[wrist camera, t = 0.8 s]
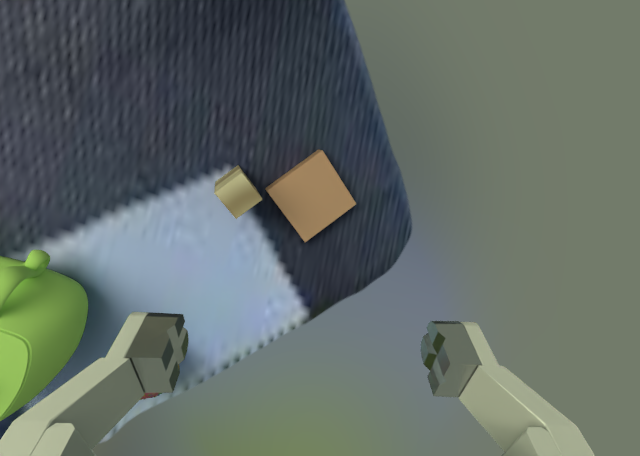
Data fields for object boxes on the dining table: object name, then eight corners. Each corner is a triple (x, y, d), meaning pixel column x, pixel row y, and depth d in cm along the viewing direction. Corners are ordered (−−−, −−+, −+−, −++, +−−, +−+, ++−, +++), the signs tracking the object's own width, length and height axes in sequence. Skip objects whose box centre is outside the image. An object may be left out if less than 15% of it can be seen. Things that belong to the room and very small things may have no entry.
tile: (264, 188, 50) (266, 191, 48) (317, 149, 51) (322, 150, 48) (301, 237, 54) (305, 242, 52) (350, 200, 55) (356, 204, 52)
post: (215, 181, 47) (214, 192, 39) (238, 165, 48) (242, 172, 39) (233, 203, 49) (236, 218, 41) (255, 187, 49) (262, 199, 41)
